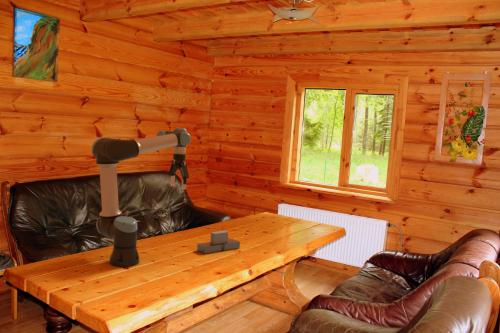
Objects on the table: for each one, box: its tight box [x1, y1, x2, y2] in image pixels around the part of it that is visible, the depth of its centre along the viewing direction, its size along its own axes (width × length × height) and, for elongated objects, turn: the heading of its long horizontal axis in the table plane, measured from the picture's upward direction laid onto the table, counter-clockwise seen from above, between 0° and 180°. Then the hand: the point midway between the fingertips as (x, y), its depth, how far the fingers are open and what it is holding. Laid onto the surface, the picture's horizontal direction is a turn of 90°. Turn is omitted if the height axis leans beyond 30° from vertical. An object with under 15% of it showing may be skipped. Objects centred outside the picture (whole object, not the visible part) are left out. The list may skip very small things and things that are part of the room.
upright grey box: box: [209, 230, 229, 245], centre depth 261 cm, size 10×4×10 cm, turn 130°
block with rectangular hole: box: [196, 238, 241, 255], centre depth 261 cm, size 26×8×4 cm, turn 130°
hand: (177, 187), depth 267 cm, fingers open, 13 cm apart
